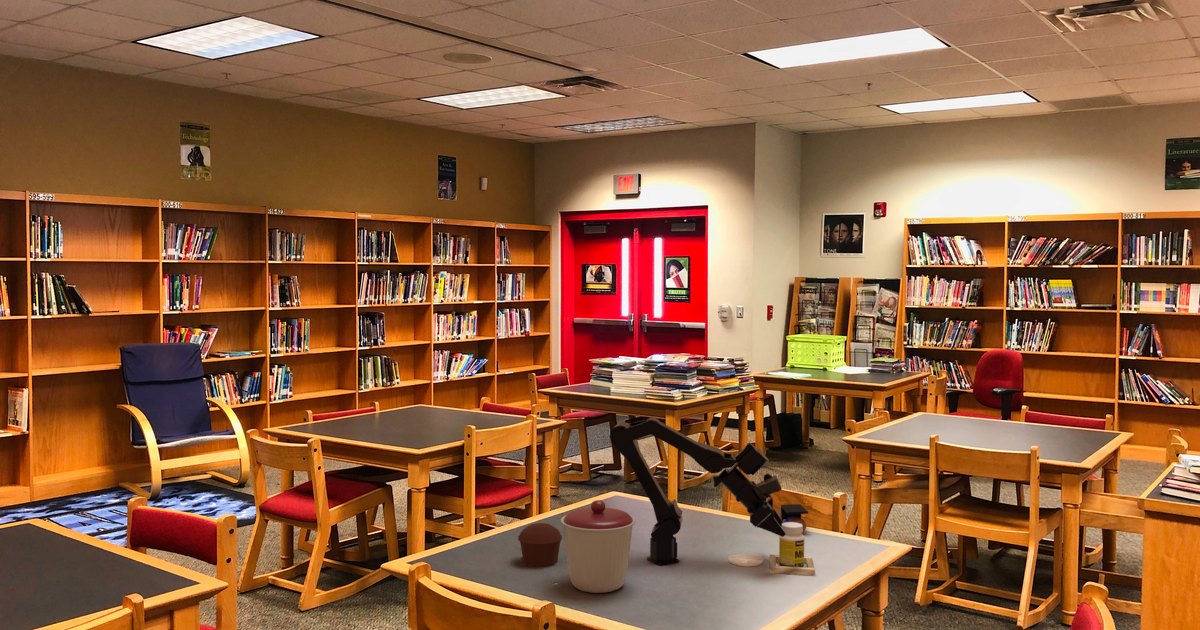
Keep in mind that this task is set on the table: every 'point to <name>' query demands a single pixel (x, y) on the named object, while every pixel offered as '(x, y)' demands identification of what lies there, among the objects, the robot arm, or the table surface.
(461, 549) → the table surface
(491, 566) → the table surface
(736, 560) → the coaster
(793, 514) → the figurine character
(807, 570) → the pocket frame
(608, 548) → the canister
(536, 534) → the muffin
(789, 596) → the table surface
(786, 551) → the supplement bottle
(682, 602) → the table surface
